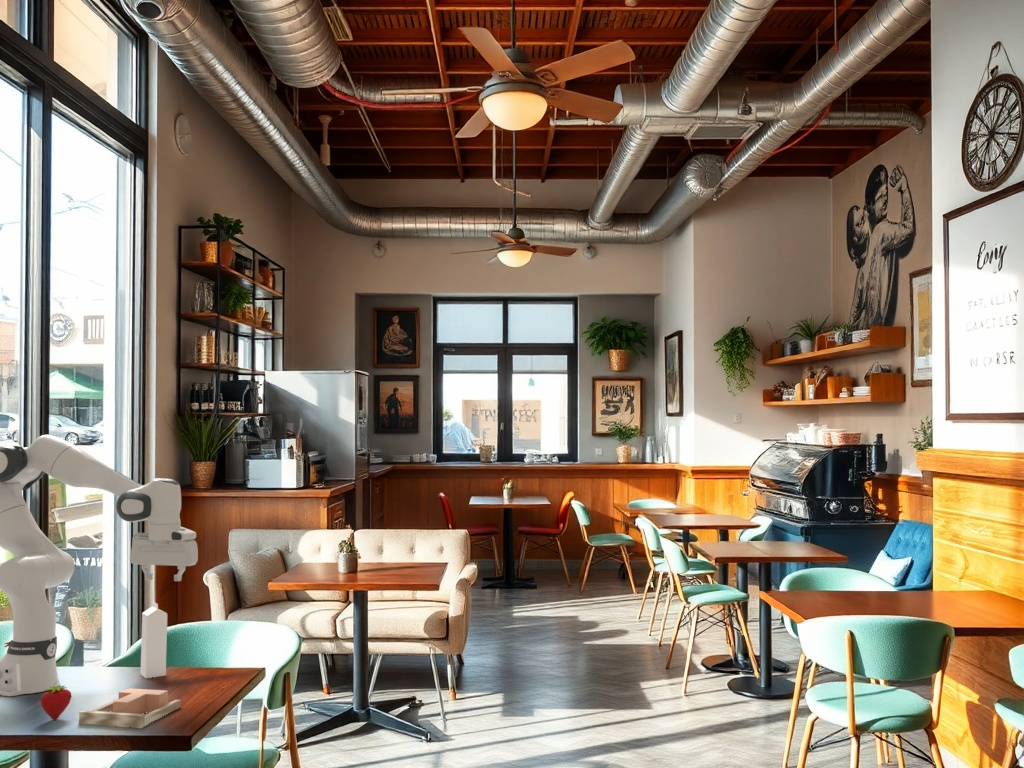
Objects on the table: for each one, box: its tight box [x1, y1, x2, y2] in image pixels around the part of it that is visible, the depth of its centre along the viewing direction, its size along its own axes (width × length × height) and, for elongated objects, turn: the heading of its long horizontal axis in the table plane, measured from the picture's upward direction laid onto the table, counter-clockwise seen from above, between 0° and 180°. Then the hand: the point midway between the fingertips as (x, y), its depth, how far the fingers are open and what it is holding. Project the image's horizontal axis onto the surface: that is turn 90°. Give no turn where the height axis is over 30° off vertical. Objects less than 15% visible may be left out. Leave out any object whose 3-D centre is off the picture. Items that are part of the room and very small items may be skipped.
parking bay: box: [78, 697, 181, 729], centre depth 235 cm, size 18×18×3 cm
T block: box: [112, 687, 169, 714], centre depth 235 cm, size 12×12×5 cm
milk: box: [140, 601, 168, 679], centre depth 276 cm, size 6×6×22 cm
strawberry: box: [40, 683, 72, 721], centre depth 231 cm, size 6×8×10 cm
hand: (163, 580), depth 264 cm, fingers open, 8 cm apart
